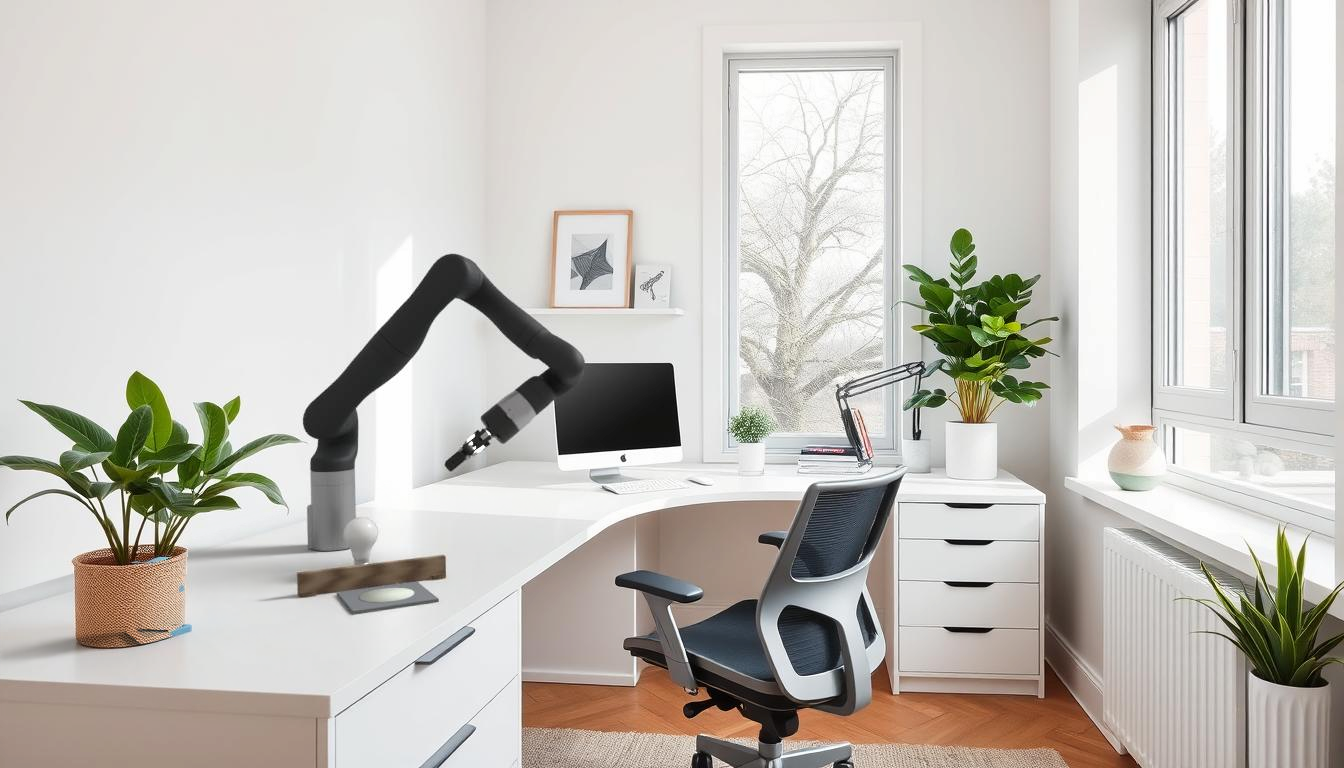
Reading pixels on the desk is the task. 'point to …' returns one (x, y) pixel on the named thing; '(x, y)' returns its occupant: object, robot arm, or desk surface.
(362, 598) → the mat
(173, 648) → the desk surface
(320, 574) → the walnut fence
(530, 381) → the robot arm
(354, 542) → the lightbulb
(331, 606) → the desk surface
